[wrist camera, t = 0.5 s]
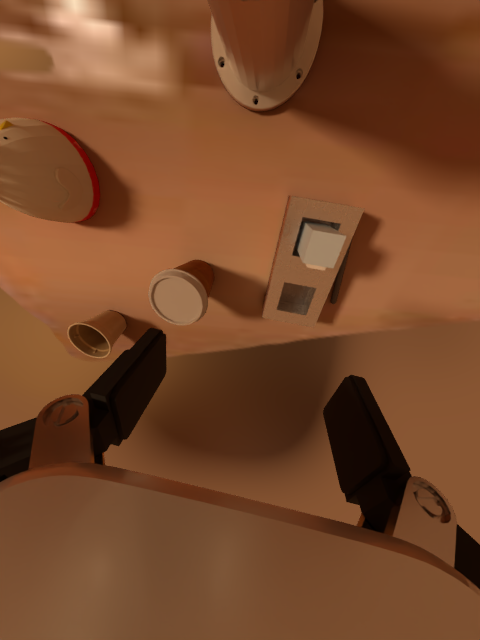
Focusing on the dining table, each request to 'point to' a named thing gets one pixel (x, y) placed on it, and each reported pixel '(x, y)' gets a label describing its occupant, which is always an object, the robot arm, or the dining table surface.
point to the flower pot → (97, 333)
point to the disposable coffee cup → (182, 292)
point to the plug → (319, 245)
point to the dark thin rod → (339, 277)
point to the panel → (292, 274)
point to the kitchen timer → (45, 172)
